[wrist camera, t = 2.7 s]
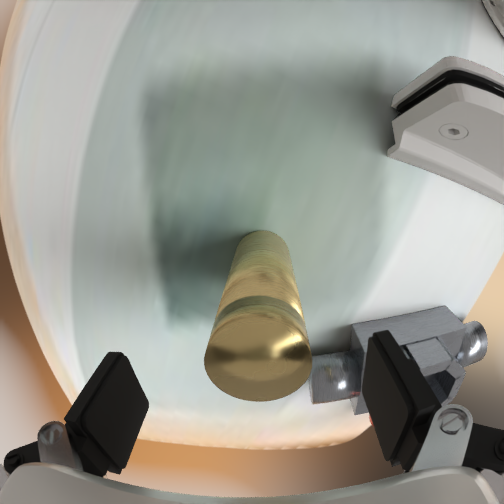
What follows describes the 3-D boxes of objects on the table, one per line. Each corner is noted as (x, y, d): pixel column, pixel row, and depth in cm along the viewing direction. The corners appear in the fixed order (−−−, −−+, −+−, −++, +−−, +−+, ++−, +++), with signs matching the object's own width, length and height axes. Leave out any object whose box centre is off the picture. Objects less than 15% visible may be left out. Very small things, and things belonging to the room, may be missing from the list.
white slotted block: (382, 155, 18) (465, 93, 8) (382, 103, 18) (447, 30, 8) (512, 209, 18) (584, 196, 8) (509, 166, 18) (575, 143, 8)
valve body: (473, 298, 22) (512, 333, 15) (448, 381, 25) (471, 419, 19) (306, 330, 23) (318, 388, 16) (308, 413, 27) (314, 465, 20)
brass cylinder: (286, 227, 20) (311, 317, 9) (291, 278, 22) (312, 396, 10) (231, 233, 21) (193, 327, 9) (239, 283, 22) (216, 402, 11)
